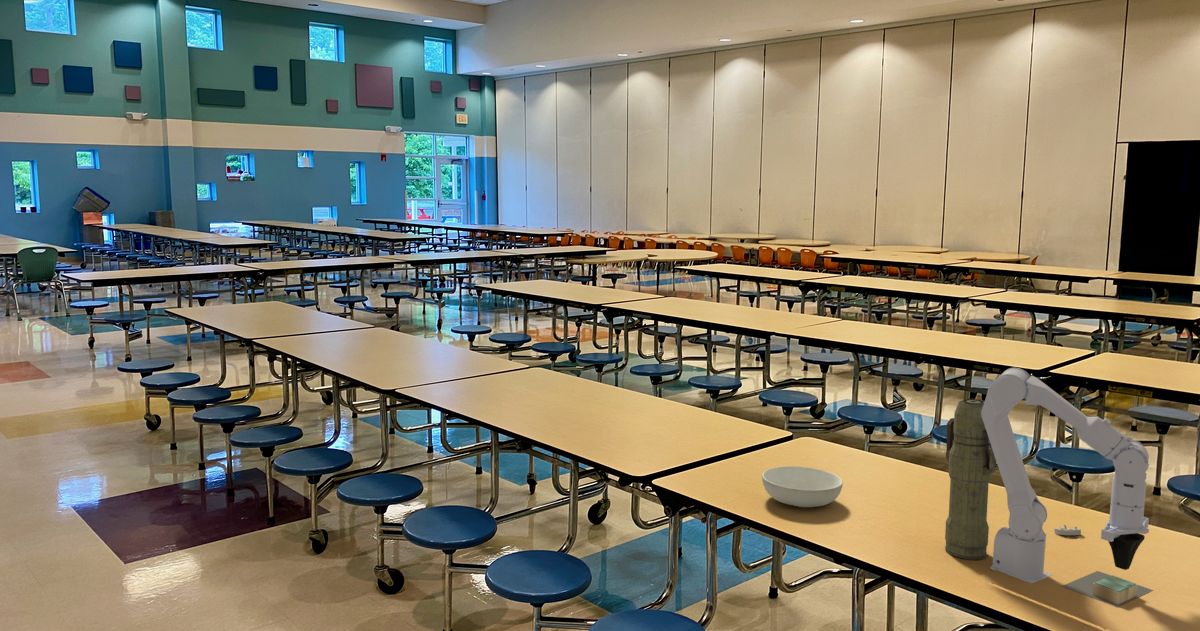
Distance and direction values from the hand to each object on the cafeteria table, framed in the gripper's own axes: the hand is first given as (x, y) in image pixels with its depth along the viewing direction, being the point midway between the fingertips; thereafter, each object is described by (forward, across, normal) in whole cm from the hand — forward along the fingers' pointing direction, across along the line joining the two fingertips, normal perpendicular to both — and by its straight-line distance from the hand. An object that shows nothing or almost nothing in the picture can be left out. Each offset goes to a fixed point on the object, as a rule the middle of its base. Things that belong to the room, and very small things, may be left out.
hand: (1122, 567), depth 170 cm
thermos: (+6, -7, +30) cm, 31 cm away
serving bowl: (+6, -14, +74) cm, 76 cm away
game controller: (+7, +22, +21) cm, 31 cm away
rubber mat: (+6, 0, +2) cm, 6 cm away
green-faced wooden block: (+4, +1, 0) cm, 4 cm away
